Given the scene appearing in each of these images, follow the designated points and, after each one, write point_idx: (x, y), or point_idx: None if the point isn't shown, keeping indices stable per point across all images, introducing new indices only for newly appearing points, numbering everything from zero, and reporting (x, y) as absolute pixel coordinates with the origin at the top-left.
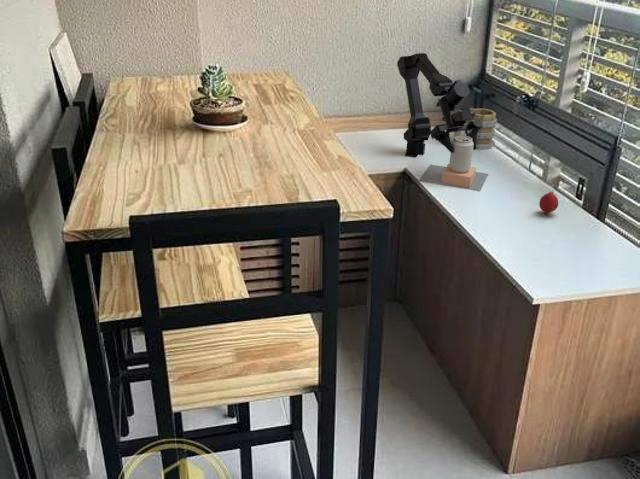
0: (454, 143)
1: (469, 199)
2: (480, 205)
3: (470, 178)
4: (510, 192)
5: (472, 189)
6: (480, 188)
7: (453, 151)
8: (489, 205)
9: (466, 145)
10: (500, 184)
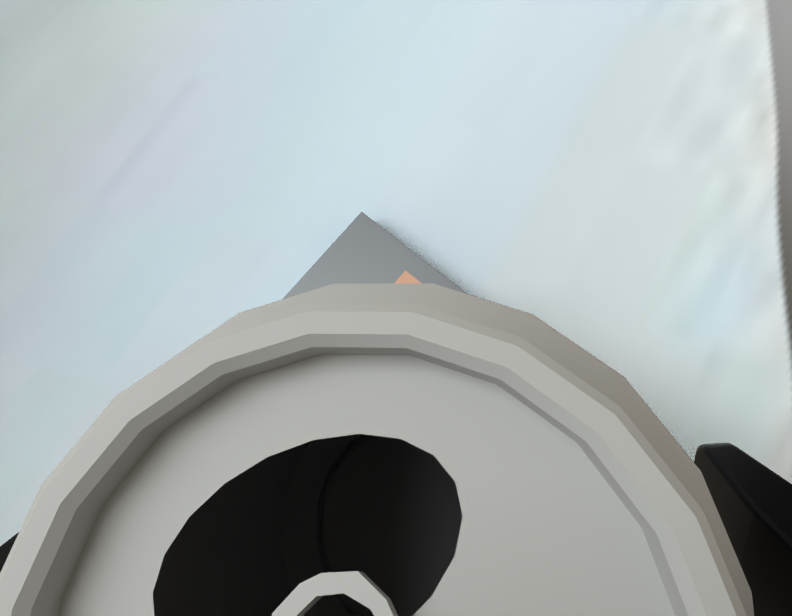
0: (742, 597)
1: (506, 146)
2: (476, 36)
3: (408, 276)
4: (105, 198)
5: (405, 263)
6: (321, 268)
7: (715, 444)
8: (408, 25)
9: (429, 288)
10: (68, 365)
